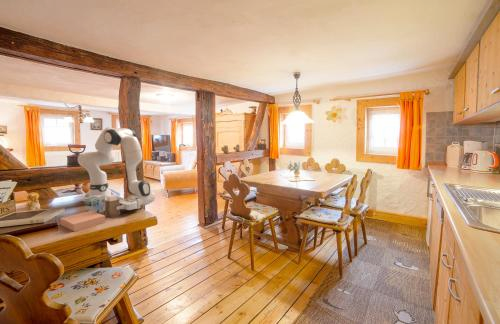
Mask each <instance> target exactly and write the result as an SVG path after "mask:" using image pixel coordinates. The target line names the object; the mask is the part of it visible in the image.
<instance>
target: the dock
mask: <svg viewBox="0 0 500 324" xmlns="http://www.w3.org/2000/svg"><path fill="white" fill-rule="evenodd" d="M59 220H60V221H59V222H60V226H63V227H64V228H67V229H69V230H70V231H73V232H78V231H81V230H84V229H88V228H91V227H94V226H98V225H101V224H104V223H106V215H104V214H101V213H96V212H93V211H87V212H85V211H84V212H80V213H76V214H72V215H68V216H64V217H60V218H59Z"/></svg>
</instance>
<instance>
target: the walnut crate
mask: <svg viewBox="0 0 500 324" xmlns="http://www.w3.org/2000/svg"><path fill="white" fill-rule="evenodd" d="M118 199H119V198H117V200H115V201H107V200H105V211H104V212H105V217H109V218H114V217H118V216H121V209H118V210H117V209H115V207H117V206H120V204H119V200H118Z"/></svg>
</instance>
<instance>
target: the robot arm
mask: <svg viewBox="0 0 500 324" xmlns="http://www.w3.org/2000/svg"><path fill="white" fill-rule="evenodd" d="M119 145H120V146H122V147H123V149H122V150H123V152H124V157H125V172H126V179H127V184H126V191H127V193H128V194H130V195H129V196H127V198H117V199H118V200H119V204H120V206H117V207H115V209H117V210H118V209H120V210H127V211H131V210H133V211H134V210H136V209H137V210H139V209H141V207H142V206H147V205H150V204H152V203H153V202H154V201H155V200H156V193H154V192H153V191H152V189H151V185H150V182H149V181H147V180H146V179H145V180H138V177H137V169H136V168H137V166H138V165H139V164H141V162H142V160H143V158H144V157H143V152H142V148H141V147H142V146H141V144H140V141H139V139H138V137H137V133H136V131H135V130H134V129H133V128H130V127H126V128H124V127H119V128H114V127H110V126H109V127H106V128H105V129H103V130H102V131H101V133H100V134H99V136H98V137H97V140H96V142H95V143H94V146H95V150H96V151H87V152H83V153H80V154H79V155H78V156H77V164H79V166H81V167H82V168H84V169H85V170H86V171H87V173H88V176H89V181H90V182H89V183H90V184H89V190H88V191H87V192H86V193H85V195H84V198H83V199H82V202H84V199H85V198H88V197H92V196H95V195H105V200H107V199H106V196H109V195H112V192H111V188H110V187H109V183H108V176H107V172H105V170H102V169H101V168H100V166H101V167H102V166H107V165H110V164H112V163H114V161H115V159H116V157H115V154H114V153H113V152H112V150H113V148H114V146H119Z"/></svg>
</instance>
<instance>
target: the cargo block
mask: <svg viewBox="0 0 500 324" xmlns="http://www.w3.org/2000/svg"><path fill="white" fill-rule="evenodd" d="M106 199H107V201H115V200H117V199H118V195H116V194H111V195H109V196H106Z"/></svg>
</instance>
